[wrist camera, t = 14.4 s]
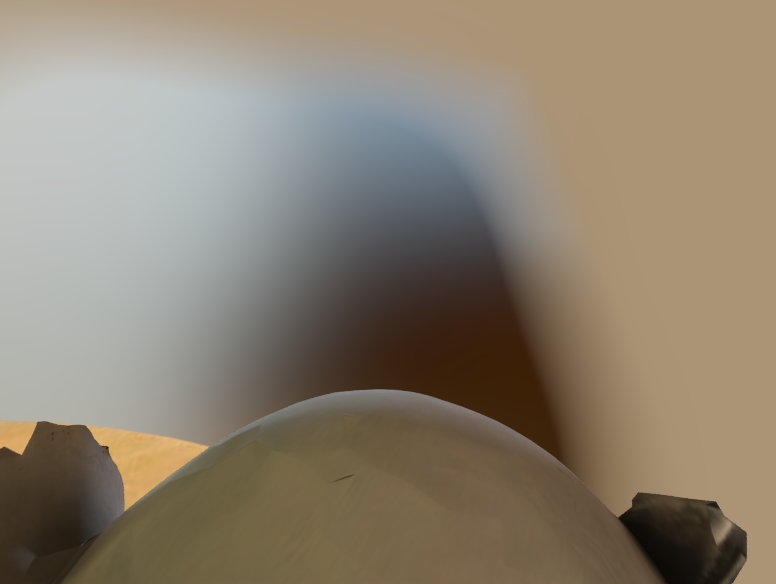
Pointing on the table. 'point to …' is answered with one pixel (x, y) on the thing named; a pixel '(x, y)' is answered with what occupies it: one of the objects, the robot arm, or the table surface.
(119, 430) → the table surface
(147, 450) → the table surface
